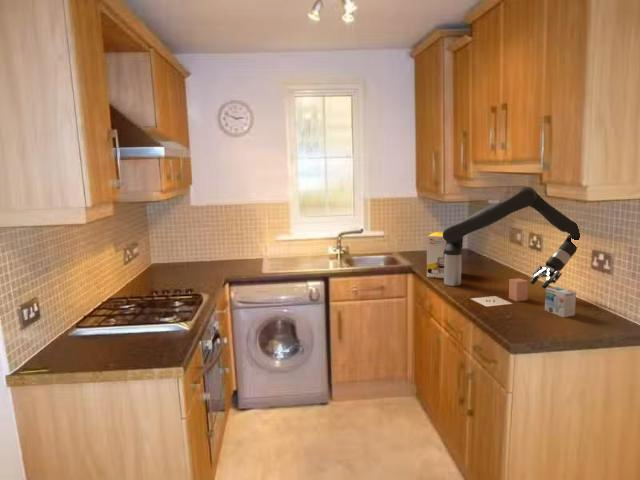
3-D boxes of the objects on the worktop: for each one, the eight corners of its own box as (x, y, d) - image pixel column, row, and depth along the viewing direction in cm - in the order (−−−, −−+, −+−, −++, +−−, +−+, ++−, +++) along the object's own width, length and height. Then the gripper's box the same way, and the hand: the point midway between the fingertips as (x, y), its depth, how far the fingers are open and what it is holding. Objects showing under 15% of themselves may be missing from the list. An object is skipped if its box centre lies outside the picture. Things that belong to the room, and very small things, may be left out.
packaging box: (459, 273, 287) (459, 233, 283) (454, 279, 273) (454, 236, 269) (433, 271, 295) (433, 232, 291) (426, 276, 280) (426, 235, 276)
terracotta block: (508, 299, 230) (509, 279, 228) (519, 297, 231) (520, 278, 230) (516, 302, 224) (517, 282, 223) (527, 301, 225) (528, 281, 224)
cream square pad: (470, 299, 231) (470, 298, 231) (495, 296, 234) (495, 295, 234) (486, 307, 218) (486, 306, 217) (512, 304, 221) (512, 303, 220)
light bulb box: (544, 310, 210) (545, 287, 208) (555, 308, 212) (556, 285, 211) (563, 317, 200) (565, 293, 199) (575, 315, 203) (576, 291, 201)
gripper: (543, 253, 235) (523, 277, 234) (564, 258, 221) (542, 284, 221) (552, 262, 237) (532, 286, 236) (573, 268, 223) (551, 293, 222)
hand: (537, 285), depth 228 cm, fingers open, 8 cm apart
